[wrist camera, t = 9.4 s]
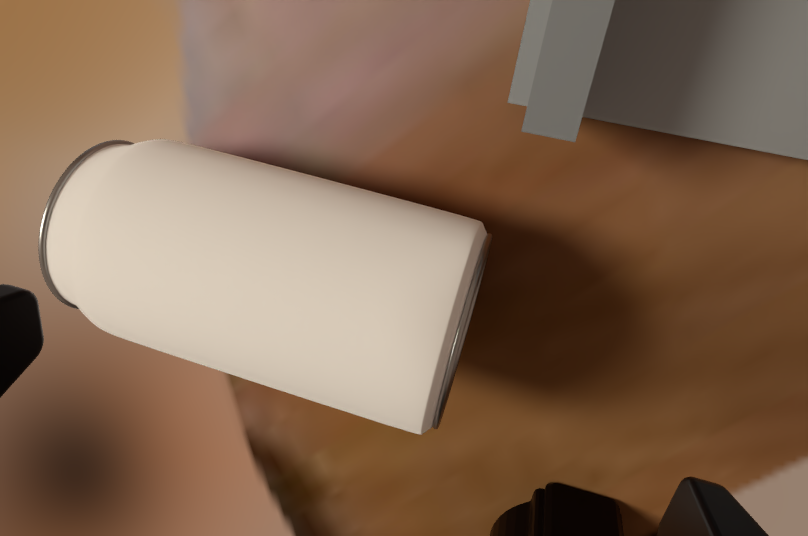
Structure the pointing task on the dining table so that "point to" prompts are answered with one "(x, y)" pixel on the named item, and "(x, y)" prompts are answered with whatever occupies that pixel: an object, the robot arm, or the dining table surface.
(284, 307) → the can
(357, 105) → the dining table surface
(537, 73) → the u rest
